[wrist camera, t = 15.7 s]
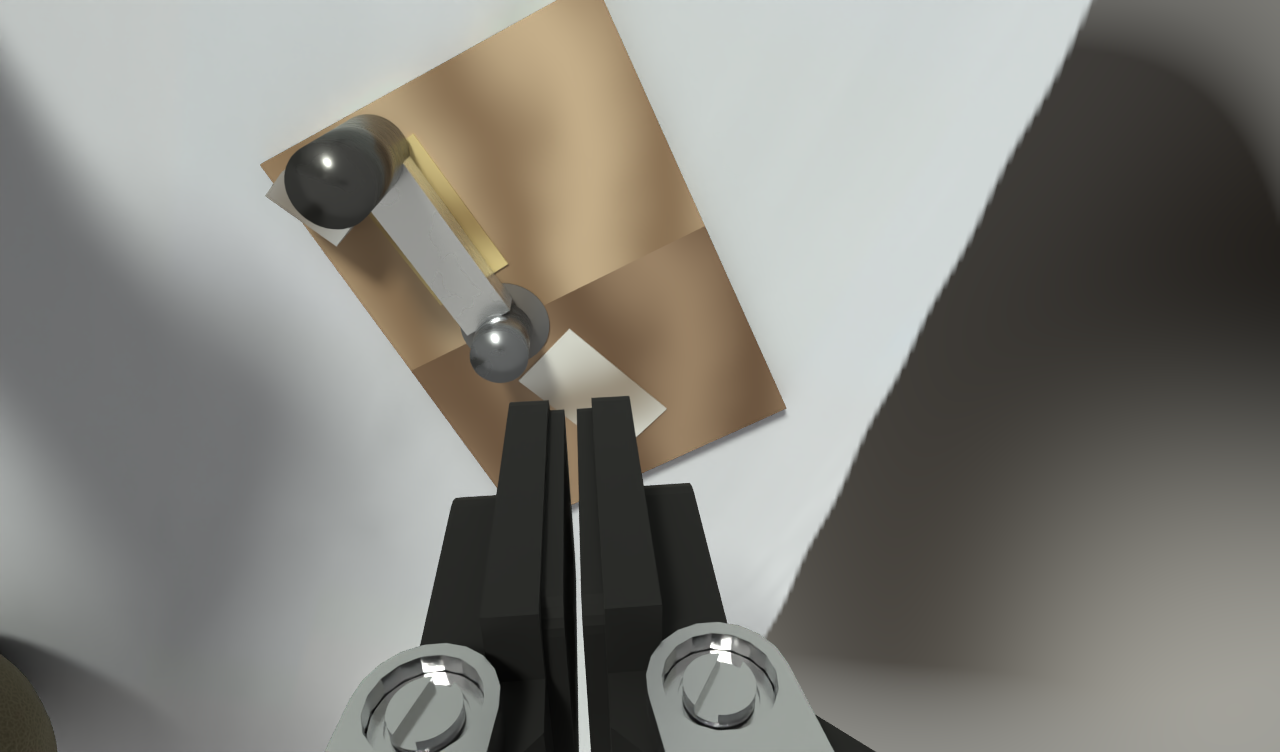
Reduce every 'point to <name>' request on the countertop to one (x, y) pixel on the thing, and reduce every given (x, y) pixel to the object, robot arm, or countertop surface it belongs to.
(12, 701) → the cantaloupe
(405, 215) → the swing bar
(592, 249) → the plate
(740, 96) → the countertop surface
